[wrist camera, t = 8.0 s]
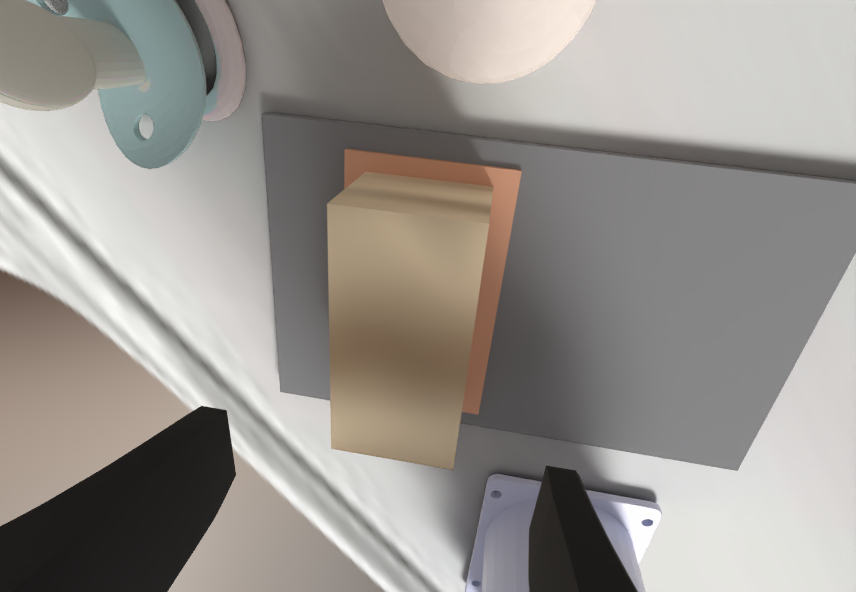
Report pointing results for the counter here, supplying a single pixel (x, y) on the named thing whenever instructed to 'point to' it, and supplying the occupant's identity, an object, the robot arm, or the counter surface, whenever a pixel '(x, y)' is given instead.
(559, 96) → the counter surface
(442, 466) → the tan wooden block
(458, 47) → the egg
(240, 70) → the pacifier
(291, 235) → the rubber mat
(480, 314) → the terracotta strip
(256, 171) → the counter surface
